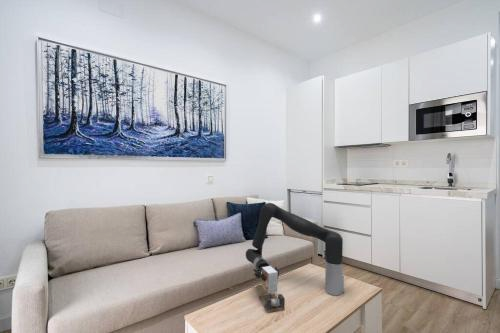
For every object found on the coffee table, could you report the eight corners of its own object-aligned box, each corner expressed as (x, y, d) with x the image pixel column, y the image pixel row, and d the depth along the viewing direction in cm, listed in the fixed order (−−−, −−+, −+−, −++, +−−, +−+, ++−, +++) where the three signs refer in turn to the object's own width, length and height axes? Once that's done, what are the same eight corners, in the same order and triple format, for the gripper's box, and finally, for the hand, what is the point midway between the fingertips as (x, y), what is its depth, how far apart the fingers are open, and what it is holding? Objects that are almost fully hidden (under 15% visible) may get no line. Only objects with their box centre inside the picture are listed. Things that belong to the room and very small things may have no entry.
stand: (274, 295, 134) (274, 284, 134) (284, 310, 120) (284, 298, 120) (259, 297, 132) (259, 286, 132) (267, 313, 118) (267, 300, 118)
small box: (261, 286, 131) (261, 267, 131) (270, 284, 133) (270, 265, 133) (268, 293, 124) (268, 273, 124) (277, 291, 126) (277, 271, 126)
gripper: (249, 260, 140) (258, 273, 124) (273, 258, 144) (284, 270, 128) (249, 273, 141) (257, 287, 124) (272, 270, 144) (283, 284, 128)
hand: (271, 278), depth 126 cm, fingers closed on small box, 6 cm apart
